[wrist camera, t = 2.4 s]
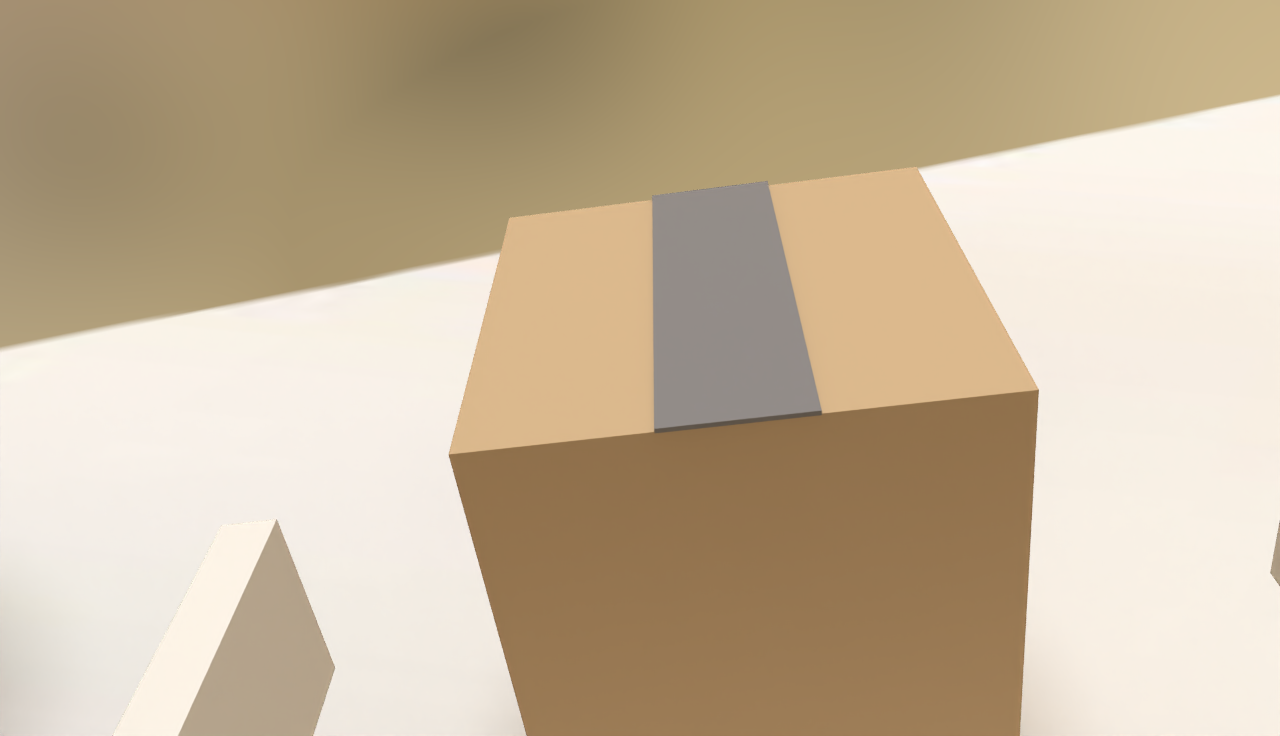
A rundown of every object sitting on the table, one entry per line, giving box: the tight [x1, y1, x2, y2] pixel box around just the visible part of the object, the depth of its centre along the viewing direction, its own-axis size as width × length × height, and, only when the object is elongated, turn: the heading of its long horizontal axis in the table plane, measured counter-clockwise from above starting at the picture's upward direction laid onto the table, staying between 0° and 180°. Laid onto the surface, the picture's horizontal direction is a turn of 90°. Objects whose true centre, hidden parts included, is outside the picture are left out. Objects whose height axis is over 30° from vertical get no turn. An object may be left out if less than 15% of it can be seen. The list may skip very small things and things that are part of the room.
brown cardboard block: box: [449, 167, 1039, 736], centre depth 27 cm, size 11×11×9 cm
